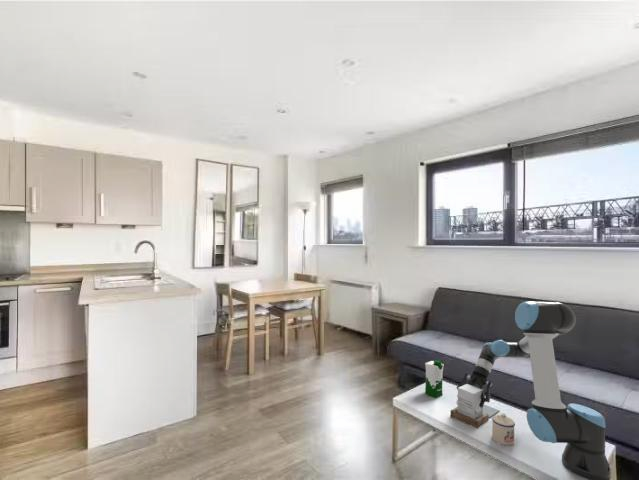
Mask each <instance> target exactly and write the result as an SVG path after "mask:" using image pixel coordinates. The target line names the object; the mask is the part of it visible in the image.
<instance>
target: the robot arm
mask: <svg viewBox="0 0 639 480" xmlns="http://www.w3.org/2000/svg"><path fill="white" fill-rule="evenodd" d="M576 318H577V317H576V315H575V312H574V311H573V309H571V308H570V307H569V306H568V305H566V304H564V303H562V302H558V301H553V302H552V301H523V302H521V303H520V304H518V306H517V308H516V309H515V314H514V319H515V324H516V326H517V327H518V328H519V329H521V330H522V332H523V333H522V334H523V335H524V337H523V338H521V339H520V340H519V341H517V342H512V341H511V342H509V341H504V340H503V339H498V340H494V341H493V342H487V341H486V342H485V343H484V345H483V346H482V349H481V351H480V354H479V357H478V358H477V361H476V362H475V363H476V364H475V366H474V368H473V370H472V373H471V374H468V373H465V374H464V377H463V378H462V380H461V381H460V382H459V384H458V385H457V386H456V390H457V391H458V387H461V386H463V385H466V384H469V385H472V386H474V387H477V388H480V389H483V391H482V394H481V399H479V401H478V404H477V406H476V409H475V412H476V413H477V414H478V413H479V410H480V408H482V407H483V405H485V403H490V401H491V394H492V393H491V392H492V388H493V386H494V385H493V383H492V381H488V380H489V378H490V375H491V371H492V369H493V367H494V364H495V362H496V360H498V359H500V358H513V359H514V358H517V359H530V364H531V365H530V366H531V374H532V375H531V376H532V382H533V389H534V397H535V398H534V399H533V400H532V401H531V408H528V409H527V411H526V421H527V425H528V427H529V429H530V431H531V433H532V434H533V436H535V437H536V438H537V440H539V441H541V442H543V443H551V444H558V443H559V444H561V443H562V444H566V445H565V447H564V449H563V452H562V454H561V462H562V464H563V465H564V466H565V468H567V469H568V470H569V471H571V472H572V473H574V474H576V475H577V476H579V477H583V478H585V479H588V480H611V478H612V470H611V467H610V464H609V462H608V459H607V456H606V428H607V426H606V419H605V417H604V415H603V414H601V413H600V412H598V411H596V410H595V409H592V408H590V407H588V406H585V405H582V404H578V403H568V404H567V406H566V405H565V404H564V403H563V402H562V399H561V392H560V386H559V378H558V372H557V363H556V357H555V349H554V344H553V343H554V342H553V339H555V338H557V337H558V336H560V335H565V334H567V333H568V332H570V331H571V330H572V329H573V328H574V327H575V325H576V322H577V321H576V320H577V319H576ZM485 385H486V389H485V387H484V386H485ZM485 390H486V391H485ZM456 397H457V398H458V394H457V396H456ZM455 404H456V405H457V406H458V399H457V400H456V402H455Z"/></svg>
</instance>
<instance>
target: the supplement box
mask: <svg viewBox="0 0 639 480" xmlns="http://www.w3.org/2000/svg"><path fill="white" fill-rule="evenodd" d="M482 391H483V389H480V387H478V386H475V385H473V386H472V385H469V384H467V383H466V384H465V385H463V386H461V387H458V390H457V395H458V397H457V400H458V405H457V407H458V413H460V414H463V415H465V416H467V417H470V418H472V419H474V420H476V419H478V418H479V417H481V416H483V407H482V408H480V410H479V413H478V414H477V413H476V412H475V409H476V406H477V404H478V401H479V399H481V394H482Z"/></svg>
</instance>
